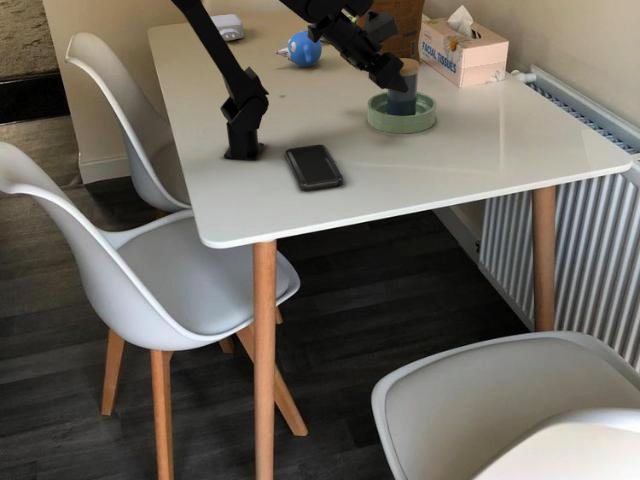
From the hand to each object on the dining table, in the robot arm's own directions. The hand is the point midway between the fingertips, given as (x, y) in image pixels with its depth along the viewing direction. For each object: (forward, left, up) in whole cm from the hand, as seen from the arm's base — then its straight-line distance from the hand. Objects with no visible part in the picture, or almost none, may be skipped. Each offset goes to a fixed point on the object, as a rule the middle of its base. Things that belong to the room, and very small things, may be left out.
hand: (396, 83), depth 135 cm
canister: (+1, -1, -8) cm, 8 cm away
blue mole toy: (+31, +28, -9) cm, 43 cm away
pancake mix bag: (+34, +5, -9) cm, 36 cm away
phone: (-23, +12, -9) cm, 27 cm away
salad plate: (+59, +24, -9) cm, 65 cm away
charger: (+51, +54, -9) cm, 75 cm away
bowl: (+1, -1, -9) cm, 9 cm away
